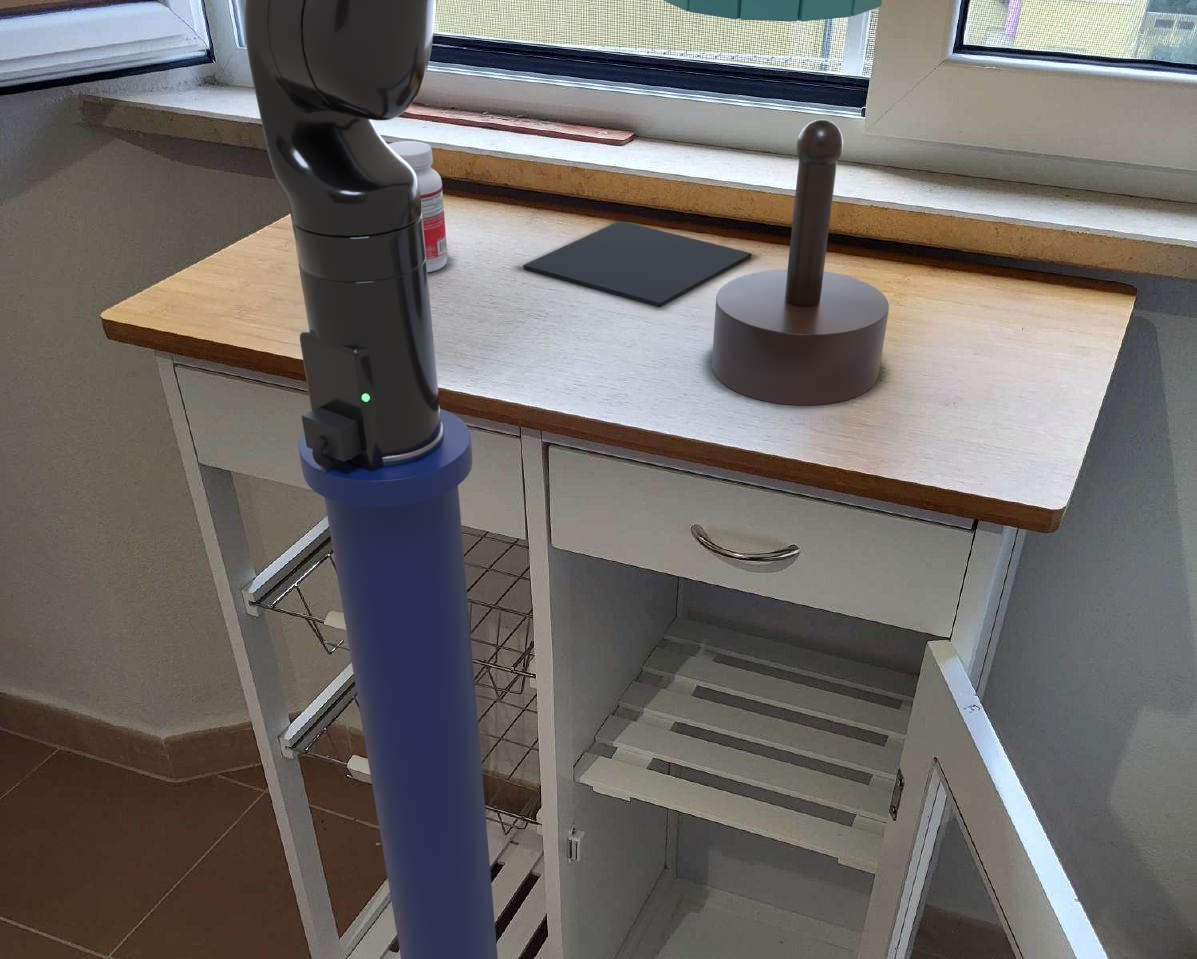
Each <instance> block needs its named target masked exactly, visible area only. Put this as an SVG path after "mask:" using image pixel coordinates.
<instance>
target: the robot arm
mask: <svg viewBox="0 0 1197 959" xmlns="http://www.w3.org/2000/svg"><path fill="white" fill-rule="evenodd" d="M243 9H244V10H243V11H244V12H243V20H244V21H243V22H244V23H243V24H244V37H245V45H246V52H247V59H248V63H249V69H250V75H251V80H252V85H253V89H254V93H255V94H254V95H255V98H256V102H257V108H258V113H259V117H260V122H261V126H262V131H263V136H264V141H265V145H266V149H267V154H268V158H269V159H268V160H269V162H270V166H271V169H272V172H273V174H274V176H275V178H276V182H278V184H279V187H280V188H281V189H282V191H283V193H284V195H285V198H286V199H287V203H288V208H289V212H290V218H291V224H292V231H293V238H294V244H295V249H296V250H295V251H296V256H297V262H298V263H297V264H298V269H299V276H300V281H301V289H302V295H303V299H304V300H303V301H304V307H305V314H306V320H307V326H308V329H306V330H303V331H301V333H300V334H299V344H300V349H301V355H302V361H303V367H304V375H305V380H306V385H307V391H308V398H309V404H310V411H308V412H306V413H304V414H302V415H301V422H302V428H303V433H304V434H305V440H306V445H307V447H308V448H311V449H313V452H312V454H313V459H314V461H315V462H316V463H317V464H319V465H320V466H322V467H325V468H328V469H331V468H333V467H334V464H335V463H334V461H333V460H332V459H330V458H328V457H325V456H323V454H326V455H328V456H331V457H333V458H336V459H338V460H341V461H343V462H347V463H350V464H353V465H355V466H357V467H360V468H362V469H365V470H367V471H370V472H374V471H376V470H378V469H380V468H383V467H387V466H395V465H401V464H406V463H410V462H413V461H416V460H419V459H422V458H424V457H426V456H428V455H430V454H431V453H433V452H434V451H435V450H436V449H437V448H438V447H439V446H440V445H441V443H442V441H443V438H444V437H443V425H442V422H441V416H440V409H441V407H440V405H441V404H440V396H439V387H438V386H439V385H438V375H437V373H438V372H437V364H436V352H435V351H436V350H435V341H434V340H435V339H434V331H433V330H434V329H433V320H432V309H431V298H430V288H429V287H430V286H429V277H428V275H429V274H428V272H427V264H426V251H425V240H424V229H423V218H422V206H421V195H420V187H419V182H418V178H417V175H416V173H415V171H414V170H413V168H412V167H411V166H410V165H409V164H408V163H407V162H406V161H405V160H404V159H403V158H401V157H400V156H399V155H398V154H397V153H396V152H395V151H394V150H393V149H392V148H391V147H390V146H389V145H388V144H389V143H387V141H385V139H384V138H383V137H382V136H381V134H380V132H379V131H378V130H377V128H376V126H375V124H374V122H373V121H380V122H381V121H382V122H383V121H390V120H393V119H396V118H397V117H400V116H401V115H402V114H403V113H405V112H406V111H407V110H408V109H409V108H410V107H411V105H412V104H413V103H414V102H415V100H416V99H417V97H418V96H419V93H420V91H421V88H422V86H423V85H424V82H425V78H426V75H427V71H428V67H429V63H430V60H431V54H432V47H433V39H434V31H435V30H434V28H435V20H436V19H435V16H436V0H244V8H243Z"/></svg>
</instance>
